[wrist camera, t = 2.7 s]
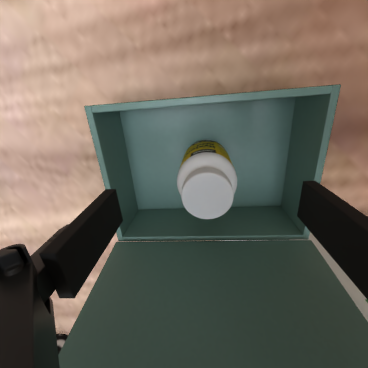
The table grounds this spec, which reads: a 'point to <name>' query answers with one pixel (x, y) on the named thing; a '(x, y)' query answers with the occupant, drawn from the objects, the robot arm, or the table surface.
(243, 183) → the chest
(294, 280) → the lid
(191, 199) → the supplement bottle
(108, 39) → the table surface
